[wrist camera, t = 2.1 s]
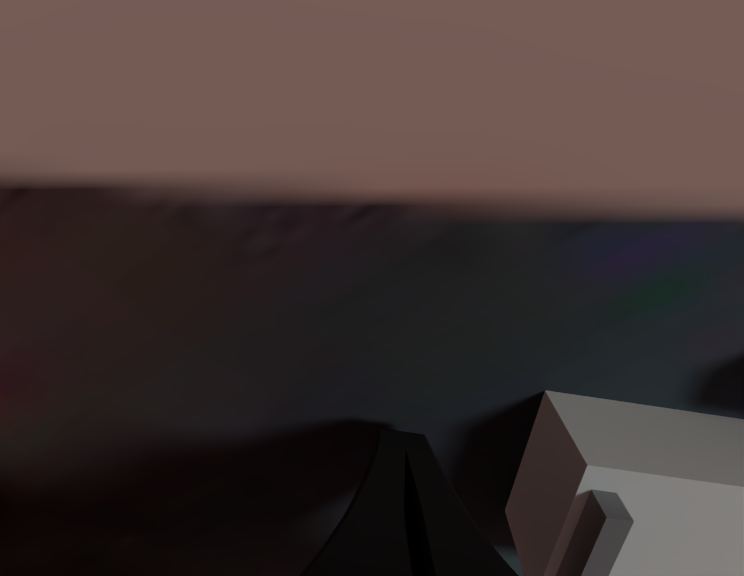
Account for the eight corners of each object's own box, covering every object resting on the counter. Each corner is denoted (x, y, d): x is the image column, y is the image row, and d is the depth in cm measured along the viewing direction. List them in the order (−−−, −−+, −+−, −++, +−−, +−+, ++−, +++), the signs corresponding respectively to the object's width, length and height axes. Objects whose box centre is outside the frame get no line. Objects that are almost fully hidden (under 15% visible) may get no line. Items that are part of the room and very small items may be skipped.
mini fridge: (744, 415, 14) (878, 530, 10) (684, 530, 15) (780, 666, 12) (542, 386, 14) (603, 492, 10) (503, 505, 15) (542, 635, 11)
